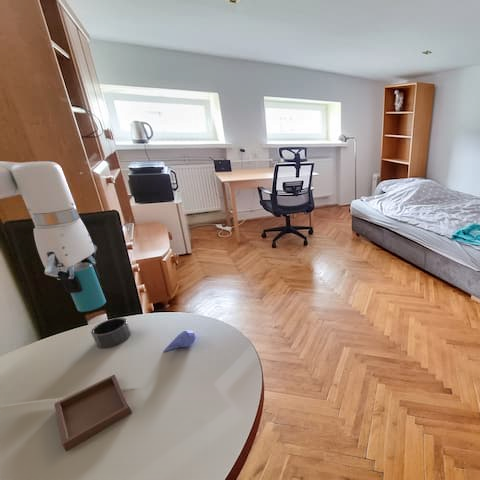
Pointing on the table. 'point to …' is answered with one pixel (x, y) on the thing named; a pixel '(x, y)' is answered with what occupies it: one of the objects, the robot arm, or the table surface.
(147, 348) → the table surface
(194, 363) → the table surface
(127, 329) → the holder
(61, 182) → the robot arm
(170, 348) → the blue teardrop shape
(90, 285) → the can
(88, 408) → the tray
